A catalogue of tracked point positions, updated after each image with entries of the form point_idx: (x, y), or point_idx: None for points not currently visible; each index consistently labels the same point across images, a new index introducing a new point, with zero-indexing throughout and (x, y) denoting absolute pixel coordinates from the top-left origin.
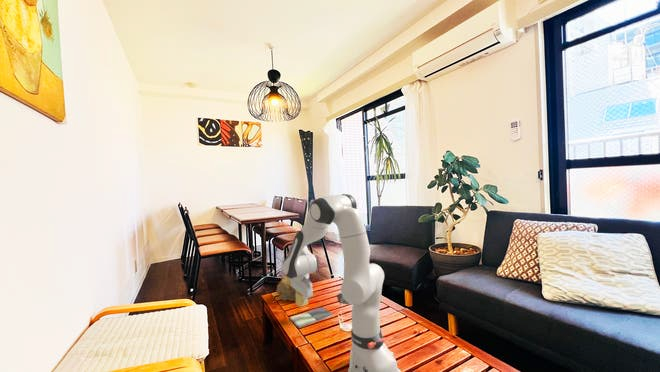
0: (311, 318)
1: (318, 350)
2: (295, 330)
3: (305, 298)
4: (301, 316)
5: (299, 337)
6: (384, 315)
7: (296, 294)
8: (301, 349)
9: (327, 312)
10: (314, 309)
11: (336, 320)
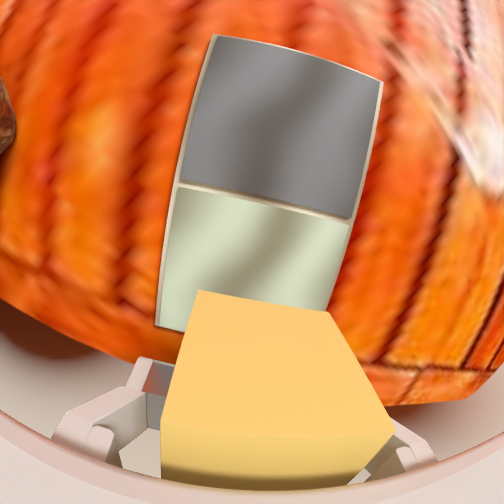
0: (302, 234)
1: (465, 362)
2: None
3: (386, 442)
4: (210, 267)
5: None
6: (497, 10)
7: None
8: (415, 402)
9: (333, 80)
10: (198, 108)
11: (430, 126)
